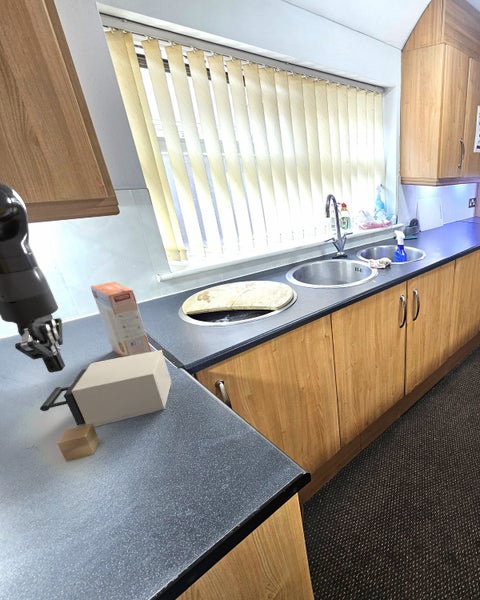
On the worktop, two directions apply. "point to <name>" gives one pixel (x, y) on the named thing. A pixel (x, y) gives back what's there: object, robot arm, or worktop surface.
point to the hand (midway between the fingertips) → (57, 369)
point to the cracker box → (121, 319)
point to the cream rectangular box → (123, 388)
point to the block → (78, 442)
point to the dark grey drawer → (69, 400)
